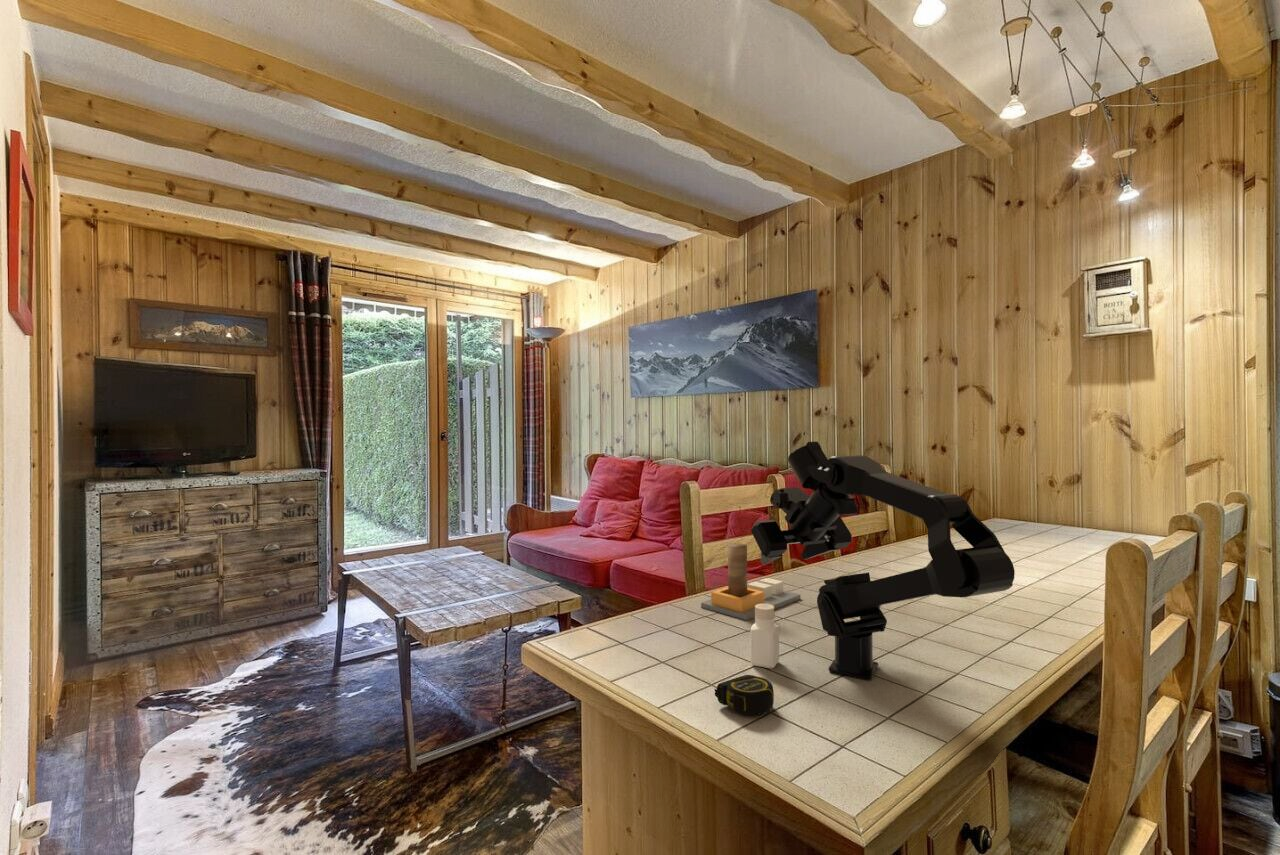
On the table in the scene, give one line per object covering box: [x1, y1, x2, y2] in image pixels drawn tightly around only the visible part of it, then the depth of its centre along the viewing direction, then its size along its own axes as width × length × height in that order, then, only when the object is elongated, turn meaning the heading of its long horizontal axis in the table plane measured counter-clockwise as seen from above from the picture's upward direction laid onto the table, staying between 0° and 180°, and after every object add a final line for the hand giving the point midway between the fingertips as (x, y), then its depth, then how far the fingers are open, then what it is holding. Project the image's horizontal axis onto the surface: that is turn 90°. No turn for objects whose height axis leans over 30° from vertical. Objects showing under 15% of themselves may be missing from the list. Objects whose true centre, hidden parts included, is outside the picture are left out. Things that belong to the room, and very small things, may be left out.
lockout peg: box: [727, 542, 748, 597], centre depth 127 cm, size 4×4×12 cm
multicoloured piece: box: [700, 577, 801, 621], centre depth 130 cm, size 20×12×4 cm, turn 134°
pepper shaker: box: [750, 604, 780, 669], centre depth 98 cm, size 4×4×10 cm
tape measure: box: [714, 674, 775, 716], centre depth 83 cm, size 7×7×4 cm
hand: (782, 560), depth 112 cm, fingers open, 9 cm apart
